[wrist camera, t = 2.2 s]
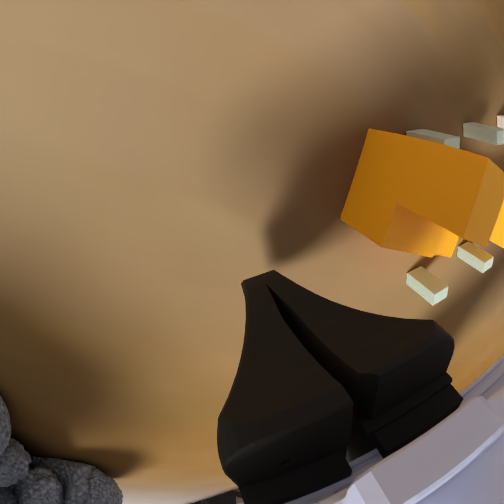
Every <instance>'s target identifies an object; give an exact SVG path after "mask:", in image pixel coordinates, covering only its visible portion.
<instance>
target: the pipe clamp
mask: <svg viewBox="0 0 504 504" xmlns="http://www.w3.org/2000/svg"><path fill="white" fill-rule="evenodd" d="M340 219H341V220H342V221H344V222H345V223H347V224H348V225H350V226H351V227H353V228H354V229H356V230H357V231H359V232H360V233H361V234H363V235H364V236H366V237H367V238H369V239H370V240H371V241H373V242H374V243H376V244H377V245H379V246H380V247H384V248H388V249H393V250H398V251H403V252H407V253H412V254H417V255H421V256H426V257H431V258H432V257H433V256H434V255H442V256H447V257H451V256H452V253H453V251H454V248H455V246H456V244H457V241H458V239H459V237H461V238H463V239H465V240H468V241H471V242H473V243H476V244H478V245H481V246H484V247H487V245H488V242H489V241H491V242H493V243H495V244H497V245H498V246H500V247H502V248H504V172H503V171H502V170H501V169H500V168H499V167H498V166H497V165H496V164H495V163H494V162H493V161H492V160H490V159H489V158H488V157H485V156H482V155H478V154H475V153H472V152H468V151H465V150H462V149H458V148H455V147H451V146H447V145H443V144H440V143H436V142H432V141H428V140H423V139H419V138H415V137H410V136H406V135H401V134H396V133H391V132H386V131H380V130H375V129H368V133H367V136H366V139H365V143H364V146H363V149H362V153H361V156H360V159H359V162H358V166H357V169H356V172H355V175H354V178H353V181H352V184H351V187H350V190H349V193H348V196H347V199H346V202H345V205H344V208H343V211H342V214H341V217H340Z"/></svg>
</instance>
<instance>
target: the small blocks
mask: <svg viewBox="0 0 504 504" xmlns="http://www.w3.org/2000/svg"><path fill="white" fill-rule="evenodd" d="M406 136H410V137H415V138H419V139H423V140H428V141H432V142H436V143H440V144H443V145H447V146H451V147H455V148H458V149H460V137H458V136H454V135H449V134H445V133H441V132H436V131H431V130H426V129H417V130H411V131H406ZM406 284H407V285H408V286H410V287H411V288H412V289H413V290H415V291H416V292H417V293H418V294H419V295H421V296H422V297H423V298H424V299H425V300H427V301H428V302H429V303H430V304H431V305H432V306H433V305H435V304H436V303H438V302H440V301H441V300H443V299H444V298H446V297H447V292H448V287H449V286H448V285H446V284H445V283H444V282H442V281H441V280H440V279H438V278H437V277H436V276H434V275H433V274H432V273H430V272H429V271H427V270H426V269H425V268H423V267H422V266H420V267H418V268H416V269H414V270H412V271H410V272H408V273H407V280H406Z"/></svg>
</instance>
